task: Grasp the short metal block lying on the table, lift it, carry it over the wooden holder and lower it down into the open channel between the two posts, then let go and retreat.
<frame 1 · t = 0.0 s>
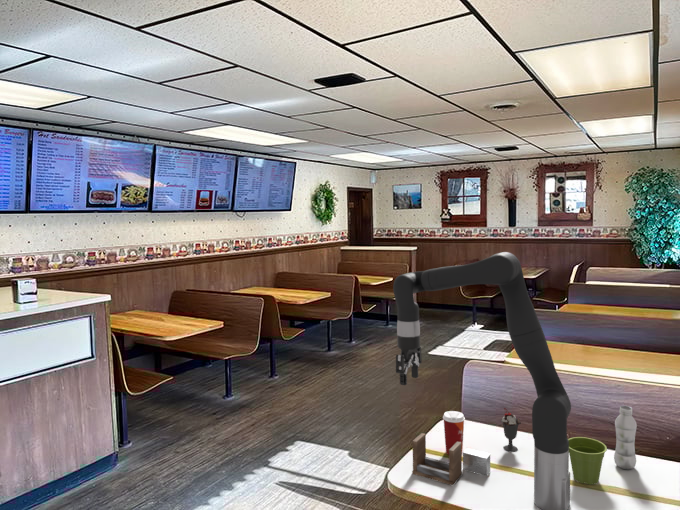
hand: (409, 381, 174), 29 cm above the table, fingers open, 8 cm apart
plastic bottle: (624, 467, 171), on the table
paper cup: (454, 453, 184), on the table
metal block: (476, 470, 172), on the table
sundae: (510, 449, 186), on the table
wooden holder: (437, 474, 170), on the table
plant pot: (585, 479, 164), on the table
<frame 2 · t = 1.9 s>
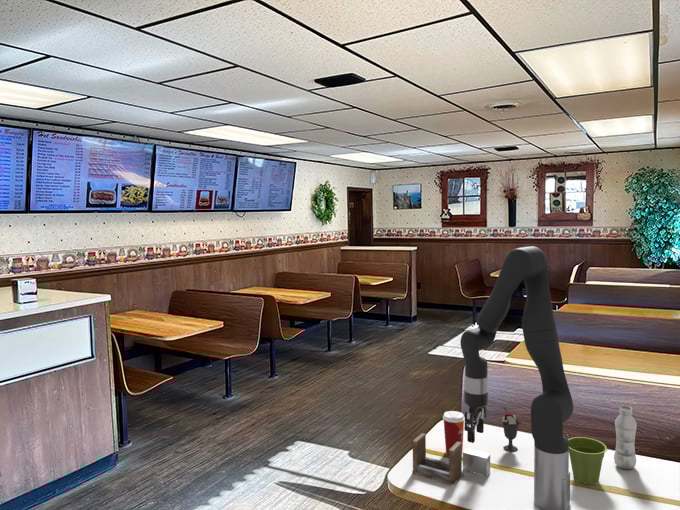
hand: (475, 437, 171), 11 cm above the table, fingers open, 8 cm apart
nothing on the table moved.
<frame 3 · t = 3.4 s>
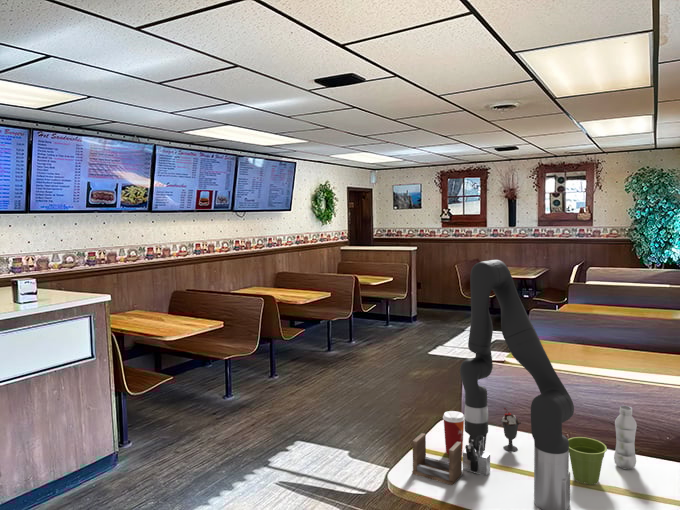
hand: (476, 468, 172), 1 cm above the table, fingers closed on metal block, 3 cm apart
metal block: (476, 470, 172), on the table, touching gripper
everything else where it was.
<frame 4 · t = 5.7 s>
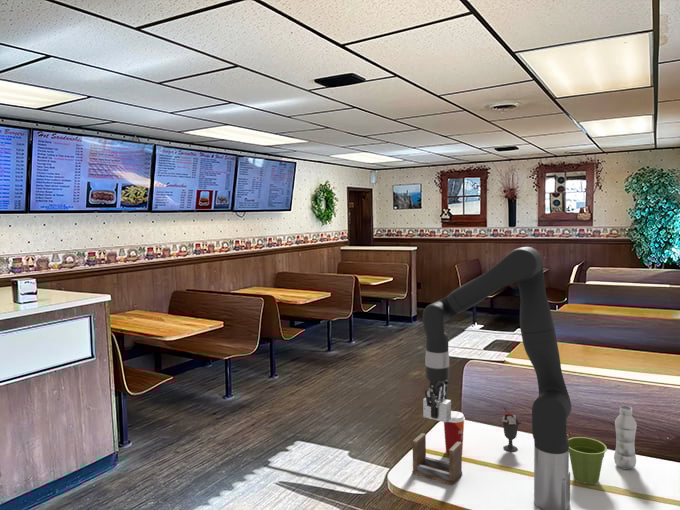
hand: (437, 415, 169), 20 cm above the table, fingers closed on metal block, 3 cm apart
metal block: (437, 417, 169), point 19 cm above the table, touching gripper
everything else where it was.
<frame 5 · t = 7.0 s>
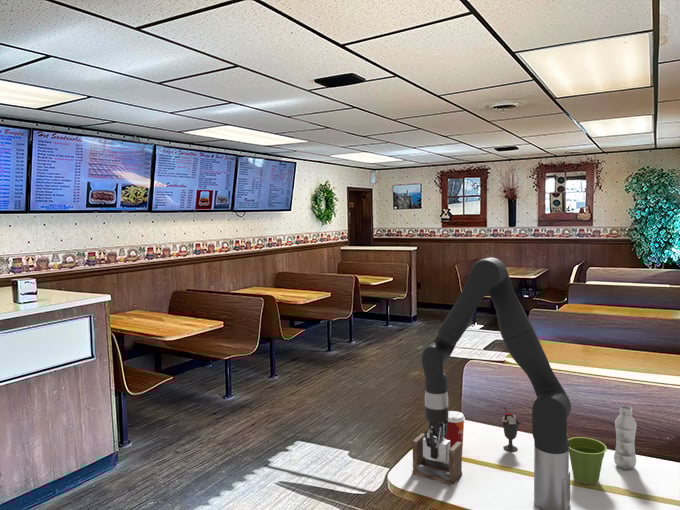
hand: (436, 455, 169), 6 cm above the table, fingers closed on metal block, 3 cm apart
metal block: (436, 457, 169), point 6 cm above the table, touching gripper
everything else where it was.
when the fingers open (3 cm above the table, at t = 8.0 s): metal block drops 1 cm, resting on wooden holder.
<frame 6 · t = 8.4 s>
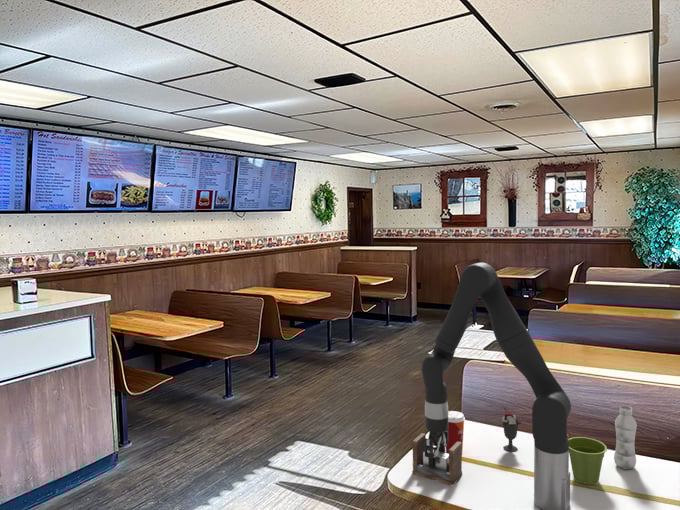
hand: (437, 462, 169), 4 cm above the table, fingers open, 7 cm apart
metal block: (437, 471, 170), point 1 cm above the table, touching wooden holder
everything else where it was.
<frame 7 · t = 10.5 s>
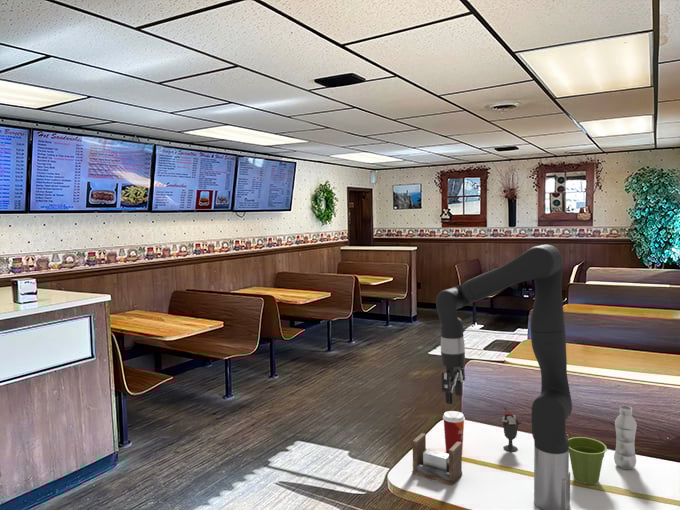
hand: (454, 399, 169), 25 cm above the table, fingers open, 8 cm apart
nothing on the table moved.
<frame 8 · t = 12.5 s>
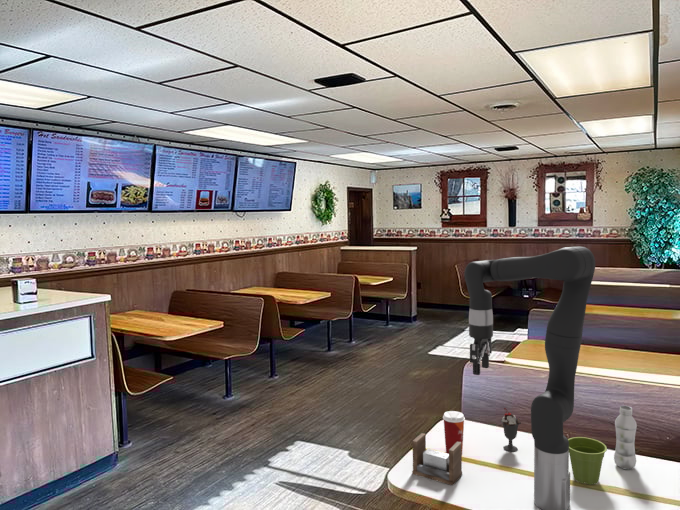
hand: (481, 371, 170), 33 cm above the table, fingers open, 8 cm apart
nothing on the table moved.
at the end: metal block 0.1 cm off-centre on the wooden holder, point 1.0 cm above the wooden holder's base; metal block tilted 0°; the gripper is holding nothing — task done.
